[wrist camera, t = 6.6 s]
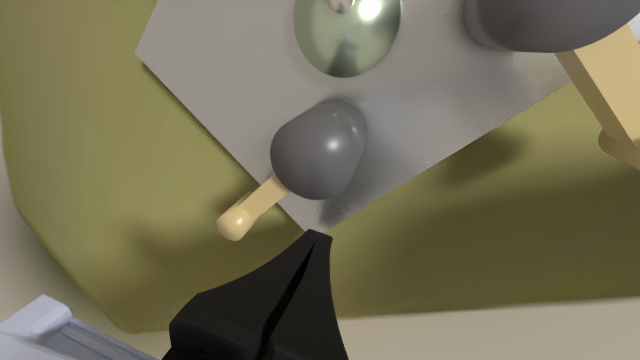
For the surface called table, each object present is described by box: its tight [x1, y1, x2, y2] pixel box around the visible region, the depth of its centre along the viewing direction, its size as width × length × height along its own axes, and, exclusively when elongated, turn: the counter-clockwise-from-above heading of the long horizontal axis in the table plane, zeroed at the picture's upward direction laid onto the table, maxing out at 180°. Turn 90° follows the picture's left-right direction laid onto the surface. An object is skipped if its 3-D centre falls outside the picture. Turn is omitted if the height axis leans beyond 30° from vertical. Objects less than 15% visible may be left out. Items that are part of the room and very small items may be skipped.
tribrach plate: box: [135, 0, 640, 233], centre depth 10 cm, size 14×18×2 cm
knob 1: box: [216, 100, 368, 241], centre depth 12 cm, size 8×3×4 cm, turn 134°
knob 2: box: [464, 0, 640, 170], centre depth 7 cm, size 8×3×4 cm, turn 44°
